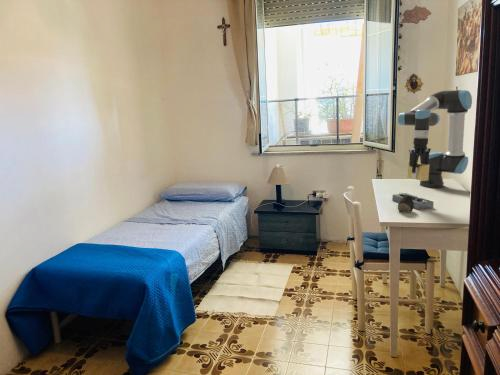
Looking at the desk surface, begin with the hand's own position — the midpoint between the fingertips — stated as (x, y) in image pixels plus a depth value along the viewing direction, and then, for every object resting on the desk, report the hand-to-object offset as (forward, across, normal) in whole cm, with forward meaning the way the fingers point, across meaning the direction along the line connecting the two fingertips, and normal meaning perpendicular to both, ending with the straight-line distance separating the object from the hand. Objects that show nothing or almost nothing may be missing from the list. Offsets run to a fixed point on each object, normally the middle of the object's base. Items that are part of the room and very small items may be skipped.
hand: (417, 178), depth 221 cm
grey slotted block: (+15, -2, 0) cm, 16 cm away
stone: (+16, -16, -10) cm, 25 cm away
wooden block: (0, 0, 0) cm, 0 cm away
